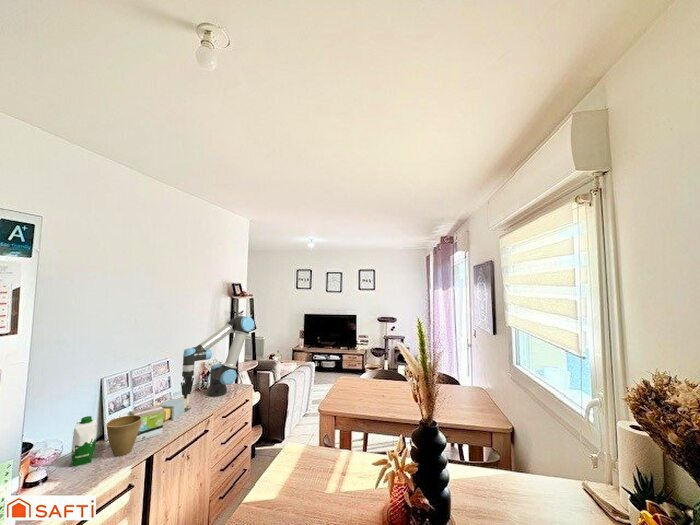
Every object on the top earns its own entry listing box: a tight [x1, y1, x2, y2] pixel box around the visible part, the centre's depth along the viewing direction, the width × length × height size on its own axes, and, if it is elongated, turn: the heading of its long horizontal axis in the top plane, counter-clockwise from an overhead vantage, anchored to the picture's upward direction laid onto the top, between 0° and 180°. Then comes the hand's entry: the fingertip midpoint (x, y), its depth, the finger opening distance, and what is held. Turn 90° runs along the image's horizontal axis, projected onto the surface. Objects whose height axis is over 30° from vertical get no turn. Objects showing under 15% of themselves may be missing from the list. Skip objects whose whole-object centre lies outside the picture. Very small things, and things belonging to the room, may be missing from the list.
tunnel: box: [158, 398, 192, 423], centre depth 208 cm, size 33×10×9 cm, turn 176°
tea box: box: [128, 404, 164, 443], centre depth 179 cm, size 15×10×15 cm, turn 143°
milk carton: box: [71, 415, 98, 468], centre depth 152 cm, size 9×9×20 cm
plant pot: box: [106, 415, 142, 457], centre depth 161 cm, size 15×15×16 cm
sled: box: [164, 398, 188, 421], centre depth 209 cm, size 24×6×6 cm, turn 176°
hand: (185, 404), depth 223 cm, fingers closed
